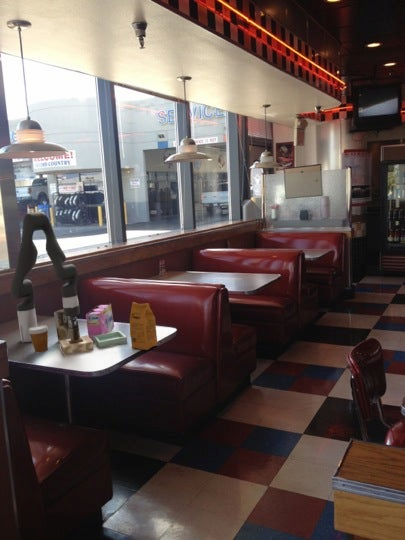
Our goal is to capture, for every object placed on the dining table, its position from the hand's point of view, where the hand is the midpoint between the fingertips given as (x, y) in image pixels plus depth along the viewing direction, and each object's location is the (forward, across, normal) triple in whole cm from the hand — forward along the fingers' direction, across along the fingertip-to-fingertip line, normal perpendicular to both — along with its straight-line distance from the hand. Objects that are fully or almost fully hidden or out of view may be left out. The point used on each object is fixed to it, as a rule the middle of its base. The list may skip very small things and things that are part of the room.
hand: (75, 338), depth 247 cm
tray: (+5, 0, +17) cm, 18 cm away
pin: (+5, 0, 0) cm, 5 cm away
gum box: (+6, -22, +18) cm, 29 cm away
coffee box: (+6, -21, -1) cm, 22 cm away
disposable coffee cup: (+6, -10, -16) cm, 20 cm away
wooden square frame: (+5, 0, 0) cm, 5 cm away
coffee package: (+6, +20, +29) cm, 36 cm away
